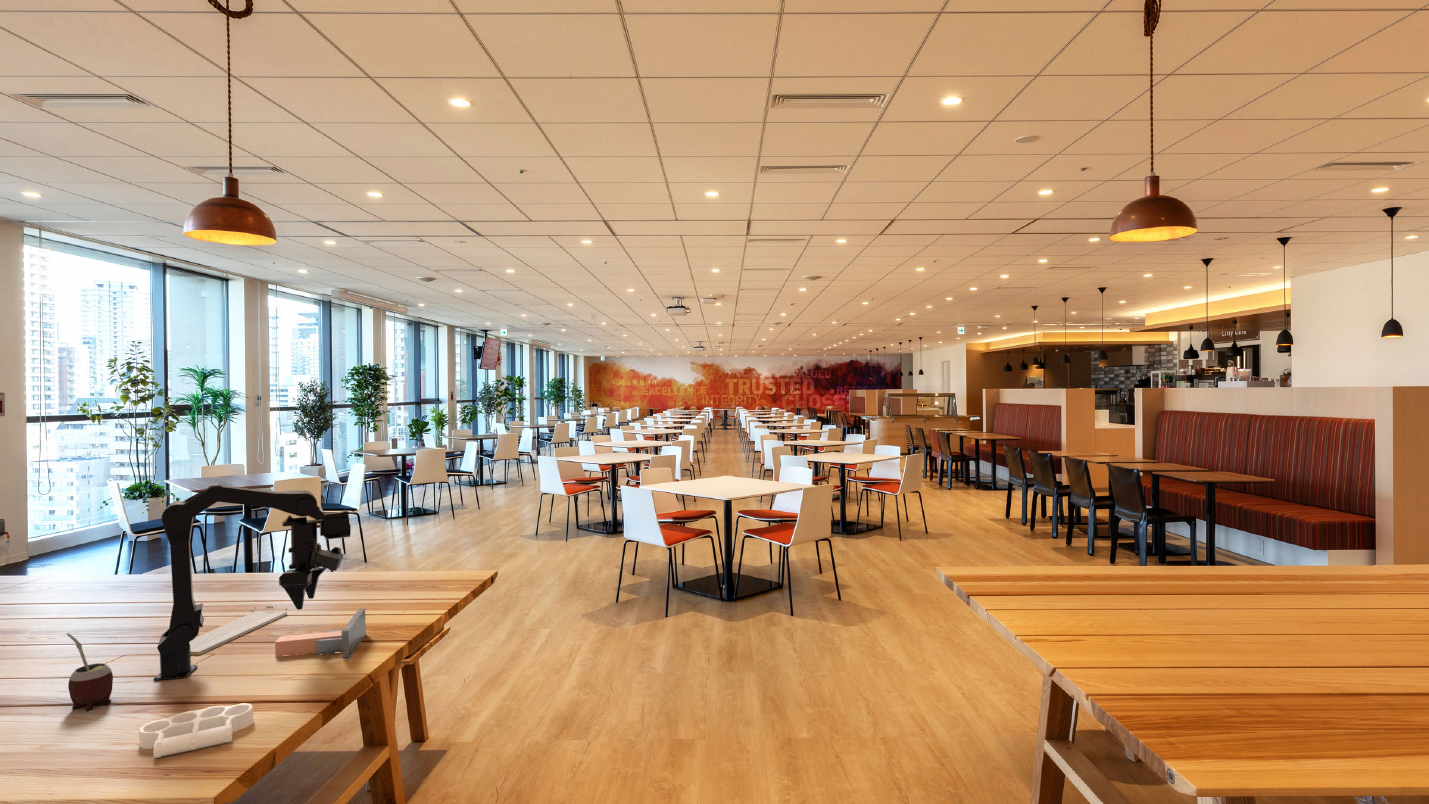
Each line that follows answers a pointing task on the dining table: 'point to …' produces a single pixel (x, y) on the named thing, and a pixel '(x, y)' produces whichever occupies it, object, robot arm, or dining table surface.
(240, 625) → the baseboard
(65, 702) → the dining table surface
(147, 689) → the dining table surface
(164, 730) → the knuckle duster
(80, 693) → the mate gourd
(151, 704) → the dining table surface
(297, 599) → the robot arm
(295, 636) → the rail
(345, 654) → the bracket
